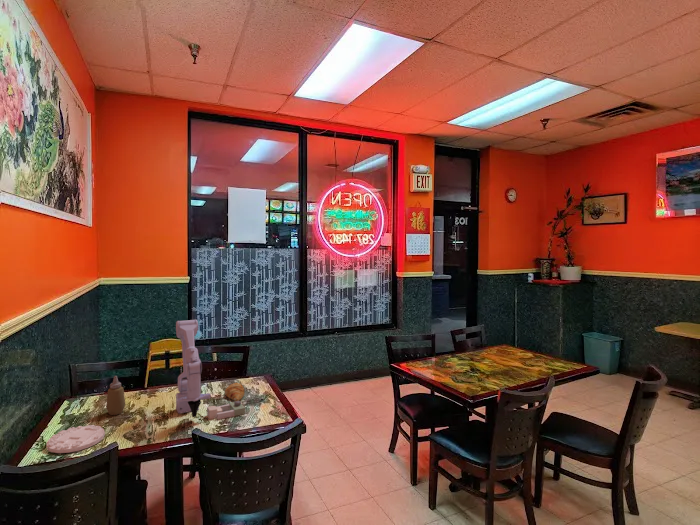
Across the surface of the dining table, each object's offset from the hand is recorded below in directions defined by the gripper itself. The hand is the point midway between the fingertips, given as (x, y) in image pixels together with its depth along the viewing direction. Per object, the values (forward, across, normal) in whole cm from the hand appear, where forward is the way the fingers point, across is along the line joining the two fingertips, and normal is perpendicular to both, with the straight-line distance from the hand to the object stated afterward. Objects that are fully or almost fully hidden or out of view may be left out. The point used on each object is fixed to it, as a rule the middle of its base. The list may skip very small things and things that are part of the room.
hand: (194, 416), depth 187 cm
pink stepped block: (+2, +10, 0) cm, 10 cm away
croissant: (+2, +25, +21) cm, 33 cm away
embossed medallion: (+3, -46, +4) cm, 46 cm away
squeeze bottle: (+2, -30, +28) cm, 42 cm away
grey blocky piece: (+2, +16, 0) cm, 16 cm away
